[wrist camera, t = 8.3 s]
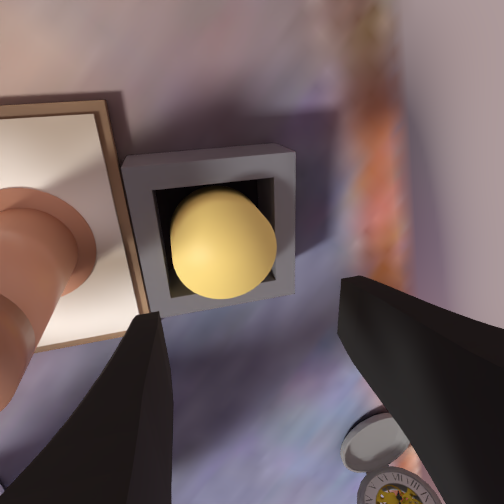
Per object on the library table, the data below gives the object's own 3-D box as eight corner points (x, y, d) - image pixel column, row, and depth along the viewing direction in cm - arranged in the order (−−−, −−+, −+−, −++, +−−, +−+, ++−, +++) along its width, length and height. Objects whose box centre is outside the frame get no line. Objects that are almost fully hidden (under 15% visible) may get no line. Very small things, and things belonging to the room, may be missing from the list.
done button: (261, 263, 18) (277, 289, 16) (176, 276, 17) (180, 307, 15) (257, 180, 16) (275, 196, 14) (162, 190, 15) (164, 209, 13)
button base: (276, 268, 21) (294, 293, 18) (153, 288, 19) (152, 319, 16) (274, 142, 17) (295, 151, 15) (126, 155, 16) (120, 167, 13)
